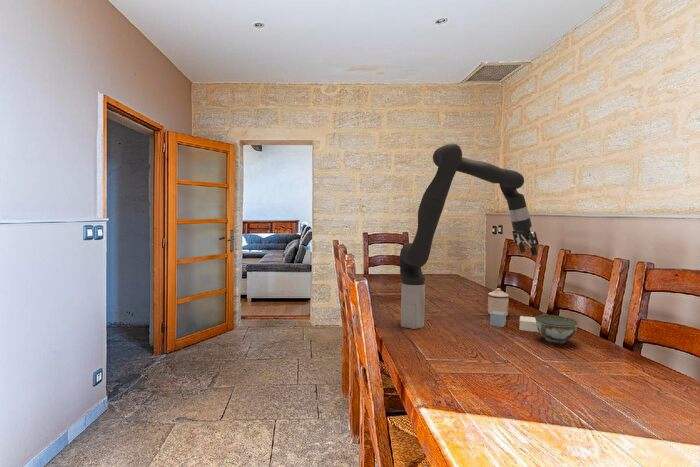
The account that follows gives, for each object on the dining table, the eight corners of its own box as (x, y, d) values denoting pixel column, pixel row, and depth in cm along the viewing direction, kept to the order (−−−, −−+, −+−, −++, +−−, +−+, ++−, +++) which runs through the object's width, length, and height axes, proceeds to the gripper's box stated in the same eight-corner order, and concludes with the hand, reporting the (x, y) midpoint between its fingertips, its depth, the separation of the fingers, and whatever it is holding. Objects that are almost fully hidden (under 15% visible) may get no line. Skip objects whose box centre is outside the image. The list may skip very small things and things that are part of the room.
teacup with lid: (511, 316, 170) (512, 290, 170) (491, 316, 171) (491, 290, 170) (502, 310, 182) (502, 285, 182) (482, 309, 183) (483, 285, 182)
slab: (542, 333, 148) (542, 323, 147) (519, 330, 151) (519, 320, 151) (541, 327, 155) (541, 318, 155) (519, 325, 158) (520, 315, 158)
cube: (502, 327, 154) (503, 315, 154) (490, 325, 157) (490, 313, 157) (505, 324, 159) (506, 312, 158) (493, 322, 161) (493, 310, 161)
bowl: (583, 349, 129) (584, 326, 129) (540, 346, 132) (541, 323, 132) (569, 336, 143) (569, 315, 142) (530, 334, 145) (530, 313, 145)
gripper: (503, 220, 172) (511, 254, 174) (521, 221, 158) (530, 258, 160) (518, 215, 173) (526, 249, 174) (538, 216, 158) (547, 253, 160)
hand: (528, 253), depth 167 cm, fingers open, 8 cm apart
